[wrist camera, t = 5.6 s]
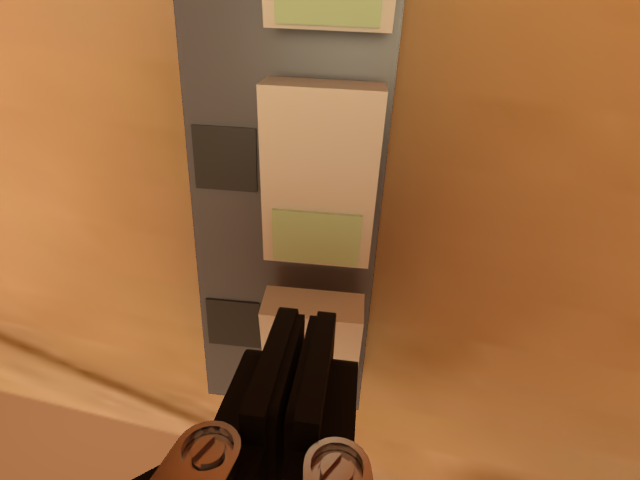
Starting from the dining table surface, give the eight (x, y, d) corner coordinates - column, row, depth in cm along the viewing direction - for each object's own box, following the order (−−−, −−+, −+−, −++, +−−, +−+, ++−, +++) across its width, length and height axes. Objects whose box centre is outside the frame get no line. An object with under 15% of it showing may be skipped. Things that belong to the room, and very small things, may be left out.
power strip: (459, -561, 14) (501, -833, 10) (358, 367, 31) (358, 418, 26) (170, -546, 15) (90, -793, 10) (226, 353, 31) (204, 401, 27)
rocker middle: (386, 82, 17) (388, 92, 15) (368, 246, 21) (367, 271, 19) (267, 76, 17) (255, 85, 16) (272, 239, 22) (262, 262, 20)
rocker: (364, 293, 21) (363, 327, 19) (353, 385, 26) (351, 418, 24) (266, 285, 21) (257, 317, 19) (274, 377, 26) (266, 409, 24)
